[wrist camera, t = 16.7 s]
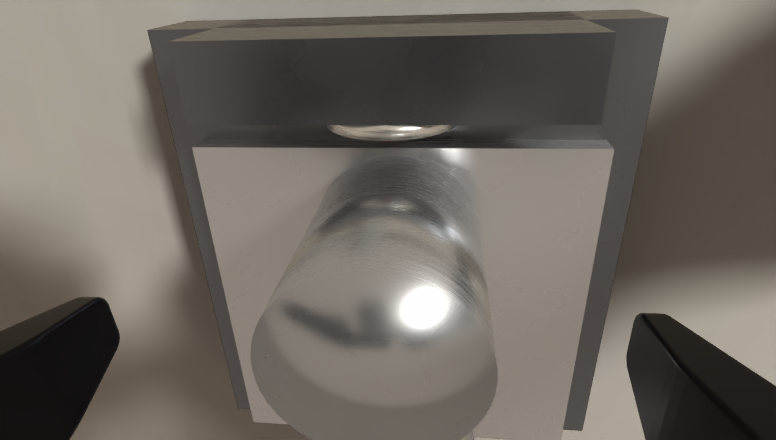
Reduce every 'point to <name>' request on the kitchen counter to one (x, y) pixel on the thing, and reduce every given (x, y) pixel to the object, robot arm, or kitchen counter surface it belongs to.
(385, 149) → the dial scale
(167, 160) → the kitchen counter surface
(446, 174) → the cylinder
